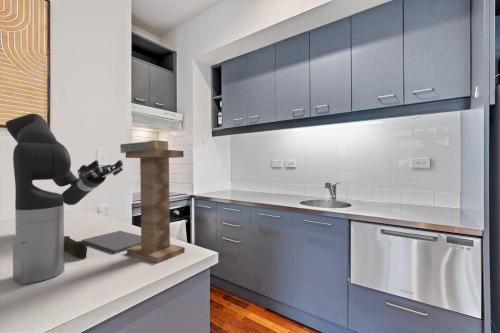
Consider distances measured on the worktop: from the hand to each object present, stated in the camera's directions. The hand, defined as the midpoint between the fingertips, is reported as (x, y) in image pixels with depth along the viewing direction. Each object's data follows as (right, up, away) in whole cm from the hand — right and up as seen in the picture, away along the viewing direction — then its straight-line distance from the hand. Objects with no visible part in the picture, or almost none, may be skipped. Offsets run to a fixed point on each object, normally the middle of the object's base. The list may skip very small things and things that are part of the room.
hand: (109, 162), depth 90 cm
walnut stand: (+22, -29, -14) cm, 39 cm away
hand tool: (-4, -29, -12) cm, 32 cm away
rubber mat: (+4, -29, -2) cm, 29 cm away
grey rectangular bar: (+17, +3, -10) cm, 20 cm away
